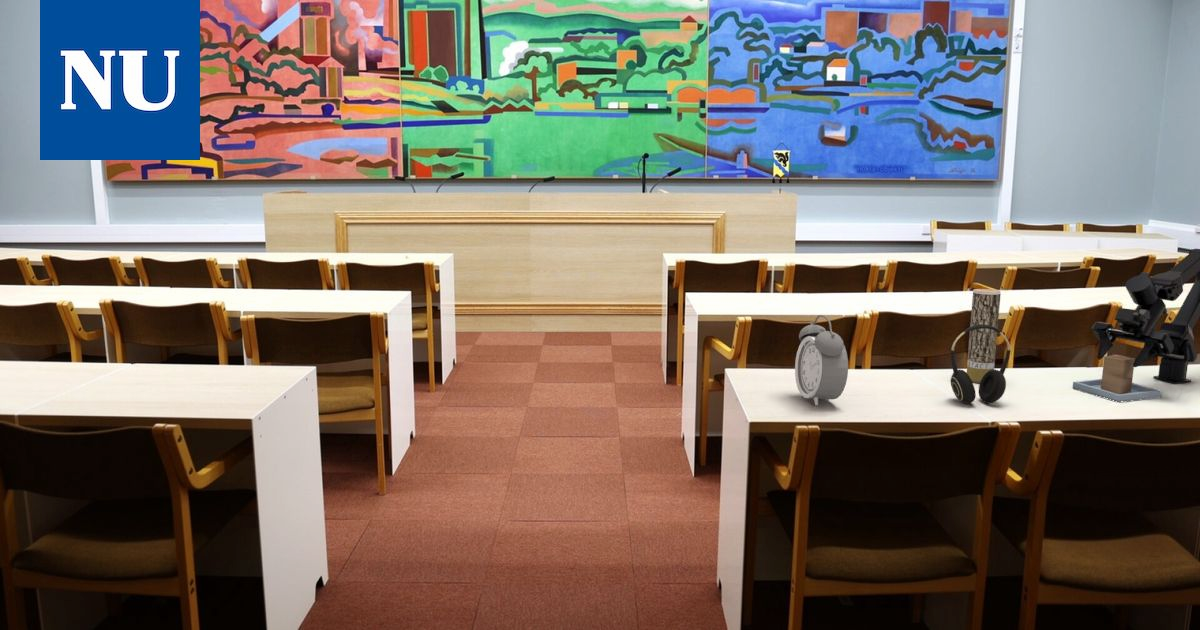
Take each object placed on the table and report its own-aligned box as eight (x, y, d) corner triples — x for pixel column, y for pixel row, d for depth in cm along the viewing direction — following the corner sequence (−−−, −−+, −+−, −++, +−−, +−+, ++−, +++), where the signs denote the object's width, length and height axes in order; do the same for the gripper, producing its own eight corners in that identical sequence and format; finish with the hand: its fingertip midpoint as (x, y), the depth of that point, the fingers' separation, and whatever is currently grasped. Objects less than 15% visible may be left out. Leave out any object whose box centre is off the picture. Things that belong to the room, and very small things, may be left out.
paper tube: (972, 376, 244) (980, 288, 239) (997, 381, 239) (1005, 291, 234) (961, 380, 239) (968, 290, 235) (986, 385, 234) (994, 293, 230)
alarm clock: (790, 393, 226) (794, 310, 222) (822, 392, 228) (826, 309, 224) (815, 411, 210) (820, 322, 206) (849, 410, 212) (854, 321, 208)
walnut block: (1111, 387, 230) (1115, 354, 229) (1130, 392, 226) (1134, 358, 225) (1100, 390, 228) (1104, 356, 226) (1119, 394, 224) (1123, 360, 222)
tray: (1112, 384, 236) (1113, 377, 236) (1160, 397, 223) (1160, 390, 223) (1072, 388, 232) (1073, 381, 231) (1118, 402, 219) (1119, 395, 218)
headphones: (940, 398, 222) (945, 321, 219) (997, 397, 223) (1004, 321, 219) (954, 407, 214) (960, 327, 210) (1013, 407, 214) (1021, 327, 211)
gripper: (1099, 291, 232) (1070, 336, 229) (1173, 302, 216) (1142, 350, 213) (1113, 318, 238) (1085, 362, 234) (1186, 330, 222) (1157, 377, 218)
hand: (1115, 362), depth 225 cm, fingers open, 9 cm apart
